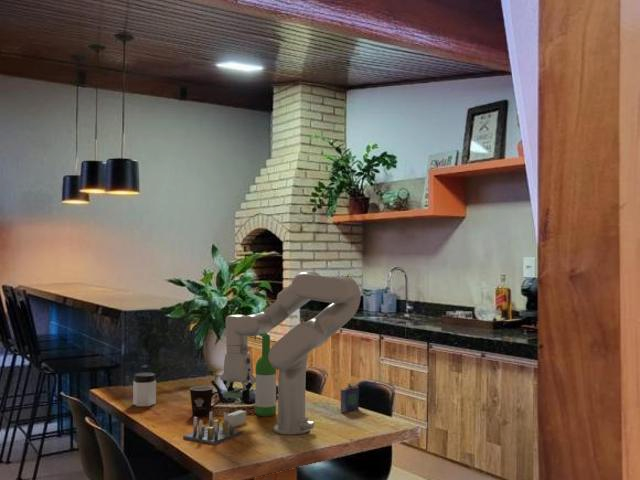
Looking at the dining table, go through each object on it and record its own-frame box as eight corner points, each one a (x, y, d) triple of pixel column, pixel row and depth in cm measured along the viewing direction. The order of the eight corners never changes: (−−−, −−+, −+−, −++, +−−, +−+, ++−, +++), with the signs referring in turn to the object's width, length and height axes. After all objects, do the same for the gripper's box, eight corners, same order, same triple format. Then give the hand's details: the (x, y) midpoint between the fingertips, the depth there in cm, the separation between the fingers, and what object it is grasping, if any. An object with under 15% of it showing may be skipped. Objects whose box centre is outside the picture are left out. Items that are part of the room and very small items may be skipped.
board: (253, 393, 232) (253, 387, 232) (236, 398, 223) (236, 392, 223) (240, 391, 235) (240, 386, 235) (222, 397, 226) (222, 391, 226)
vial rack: (242, 433, 218) (242, 414, 218) (214, 444, 205) (214, 424, 205) (212, 427, 224) (212, 409, 224) (183, 438, 211) (183, 418, 211)
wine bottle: (251, 415, 242) (251, 335, 242) (262, 410, 248) (263, 333, 249) (268, 417, 238) (269, 336, 238) (279, 413, 245) (280, 334, 245)
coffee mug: (184, 415, 240) (185, 389, 241) (199, 410, 248) (199, 384, 248) (209, 419, 235) (210, 392, 235) (223, 414, 243) (224, 388, 243)
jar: (145, 407, 253) (145, 377, 253) (129, 405, 256) (129, 375, 256) (159, 402, 261) (160, 373, 261) (143, 400, 264) (143, 371, 264)
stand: (246, 422, 232) (246, 411, 232) (232, 427, 225) (232, 416, 225) (239, 421, 233) (239, 410, 233) (225, 426, 226) (225, 414, 226)
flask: (343, 413, 245) (343, 385, 245) (338, 412, 247) (338, 384, 247) (360, 409, 251) (360, 382, 251) (354, 408, 253) (355, 381, 253)
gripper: (262, 349, 228) (264, 399, 228) (224, 347, 237) (226, 396, 236) (250, 351, 222) (251, 404, 221) (211, 350, 230) (212, 400, 230)
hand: (238, 399), depth 229 cm, fingers closed on board, 6 cm apart
